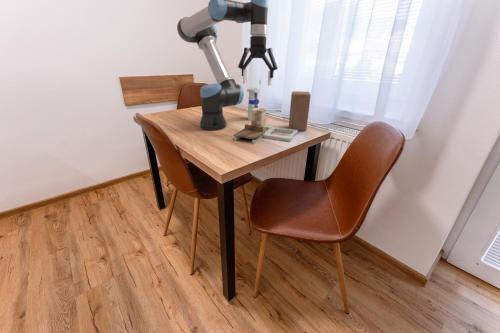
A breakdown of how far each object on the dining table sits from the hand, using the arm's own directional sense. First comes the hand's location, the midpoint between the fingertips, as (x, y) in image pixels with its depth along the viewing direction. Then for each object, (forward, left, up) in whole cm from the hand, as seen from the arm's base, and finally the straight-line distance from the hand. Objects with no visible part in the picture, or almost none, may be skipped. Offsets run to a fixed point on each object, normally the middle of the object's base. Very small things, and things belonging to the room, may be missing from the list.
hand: (256, 84), depth 112 cm
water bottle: (-12, +24, -25) cm, 36 cm away
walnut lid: (+2, -12, -23) cm, 26 cm away
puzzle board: (+9, -6, -25) cm, 27 cm away
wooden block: (+20, +15, -25) cm, 35 cm away
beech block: (+2, -1, -24) cm, 24 cm away
